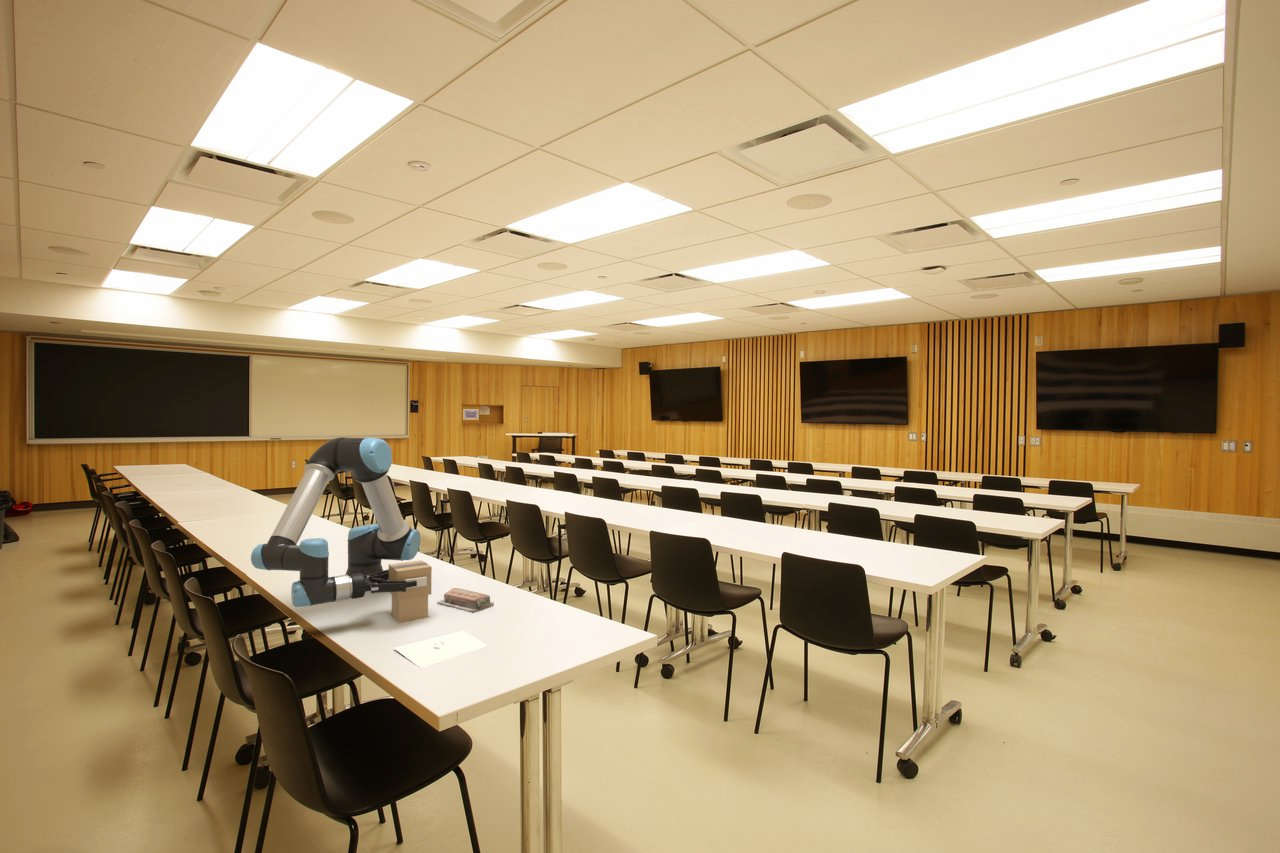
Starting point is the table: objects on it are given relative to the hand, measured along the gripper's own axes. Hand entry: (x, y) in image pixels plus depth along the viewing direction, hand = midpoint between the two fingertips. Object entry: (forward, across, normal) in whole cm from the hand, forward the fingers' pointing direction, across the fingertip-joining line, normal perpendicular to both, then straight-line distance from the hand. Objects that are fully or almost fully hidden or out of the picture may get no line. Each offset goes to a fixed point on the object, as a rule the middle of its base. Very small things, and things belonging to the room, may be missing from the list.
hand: (420, 576), depth 197 cm
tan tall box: (-3, 0, -12) cm, 13 cm away
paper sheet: (-3, +39, -13) cm, 41 cm away
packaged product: (+16, -1, -13) cm, 21 cm away
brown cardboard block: (-3, 0, -5) cm, 6 cm away
